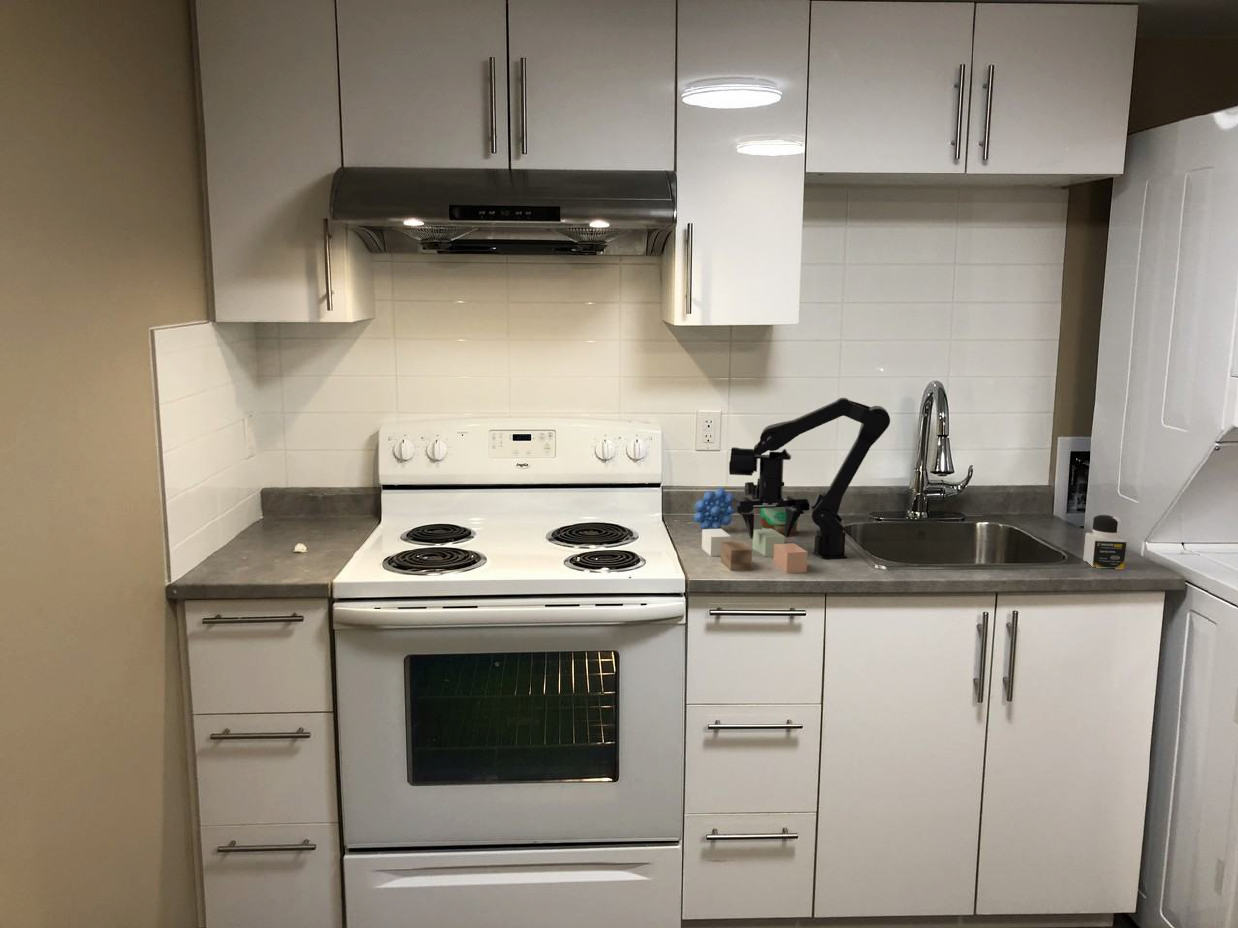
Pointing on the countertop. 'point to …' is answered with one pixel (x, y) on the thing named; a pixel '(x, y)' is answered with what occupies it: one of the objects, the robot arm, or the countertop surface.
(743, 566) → the walnut brick
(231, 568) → the countertop surface
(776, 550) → the terracotta brick
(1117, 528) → the medicine bottle
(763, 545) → the sage brick
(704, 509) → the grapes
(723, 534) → the off-white brick
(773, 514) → the food container
